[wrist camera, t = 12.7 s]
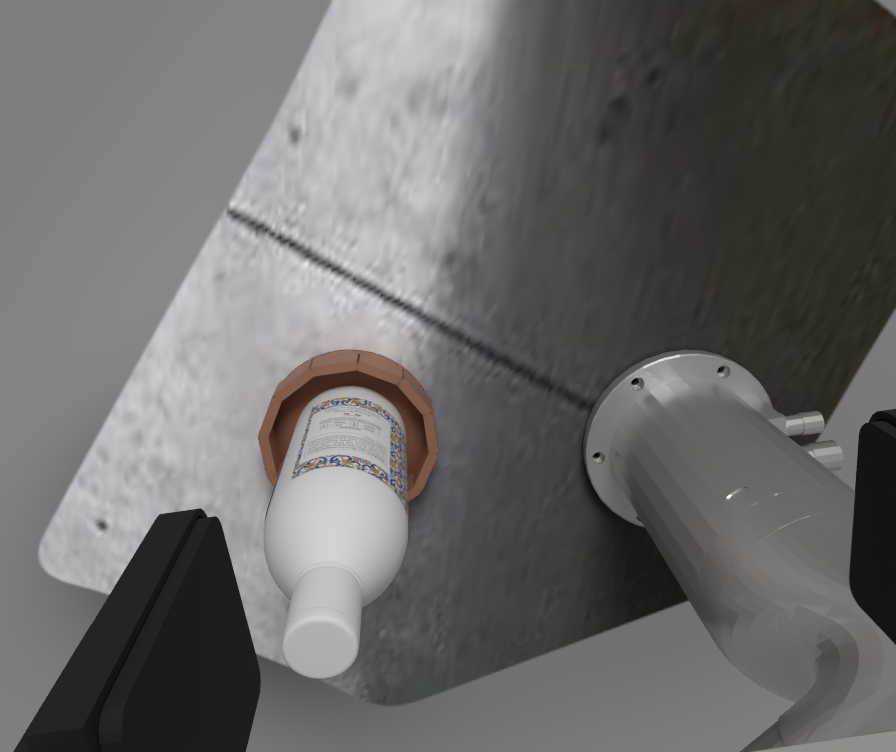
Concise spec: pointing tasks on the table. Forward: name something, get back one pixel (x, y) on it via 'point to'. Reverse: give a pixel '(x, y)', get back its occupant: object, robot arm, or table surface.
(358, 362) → the ring dish
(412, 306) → the table surface
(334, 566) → the bath foam
